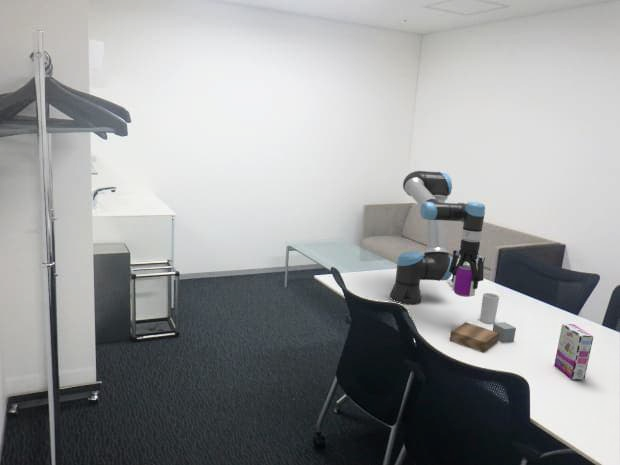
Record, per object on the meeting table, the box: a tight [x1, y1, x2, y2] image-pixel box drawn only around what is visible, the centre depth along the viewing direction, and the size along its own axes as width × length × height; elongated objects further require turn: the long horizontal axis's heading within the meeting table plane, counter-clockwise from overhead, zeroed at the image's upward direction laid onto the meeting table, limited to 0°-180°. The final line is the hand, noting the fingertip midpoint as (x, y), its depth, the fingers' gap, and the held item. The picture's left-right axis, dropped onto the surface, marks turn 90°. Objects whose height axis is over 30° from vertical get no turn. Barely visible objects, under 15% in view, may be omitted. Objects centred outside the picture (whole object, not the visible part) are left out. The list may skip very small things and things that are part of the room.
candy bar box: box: [554, 323, 594, 381], centre depth 172 cm, size 11×5×16 cm, turn 5°
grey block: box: [492, 321, 517, 344], centre depth 199 cm, size 6×6×6 cm
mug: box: [479, 292, 500, 324], centre depth 219 cm, size 10×7×12 cm, turn 178°
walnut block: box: [449, 321, 499, 353], centre depth 194 cm, size 14×14×4 cm
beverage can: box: [453, 265, 473, 298], centre depth 205 cm, size 8×8×12 cm
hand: (463, 292), depth 206 cm, fingers closed on beverage can, 8 cm apart
